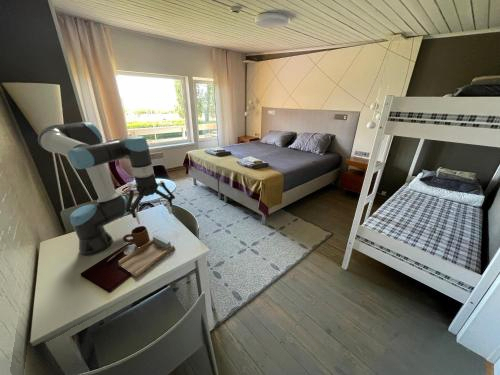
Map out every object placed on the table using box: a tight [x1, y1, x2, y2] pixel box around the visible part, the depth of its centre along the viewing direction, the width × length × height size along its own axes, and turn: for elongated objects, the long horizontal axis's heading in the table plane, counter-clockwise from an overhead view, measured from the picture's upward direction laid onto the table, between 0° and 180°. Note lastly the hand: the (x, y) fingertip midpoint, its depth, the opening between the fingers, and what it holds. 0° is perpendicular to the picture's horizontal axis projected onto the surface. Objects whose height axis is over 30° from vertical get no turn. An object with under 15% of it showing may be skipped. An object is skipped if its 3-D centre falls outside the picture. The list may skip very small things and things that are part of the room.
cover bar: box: [152, 234, 172, 249], centre depth 111 cm, size 12×2×4 cm, turn 59°
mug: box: [122, 225, 151, 248], centre depth 112 cm, size 12×8×9 cm, turn 129°
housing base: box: [117, 238, 176, 279], centre depth 104 cm, size 15×22×3 cm
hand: (155, 217), depth 94 cm, fingers open, 13 cm apart
